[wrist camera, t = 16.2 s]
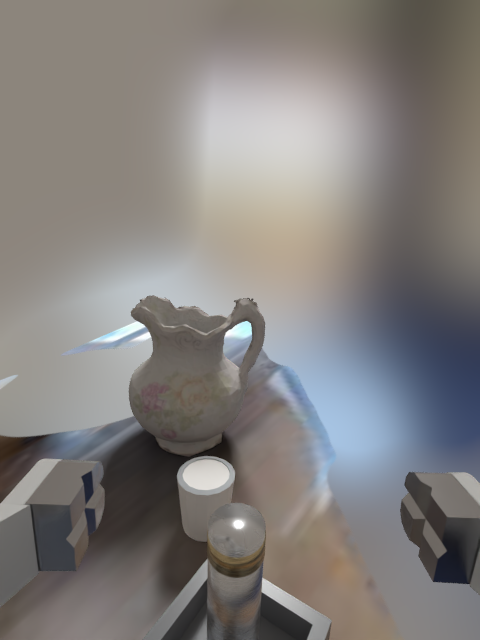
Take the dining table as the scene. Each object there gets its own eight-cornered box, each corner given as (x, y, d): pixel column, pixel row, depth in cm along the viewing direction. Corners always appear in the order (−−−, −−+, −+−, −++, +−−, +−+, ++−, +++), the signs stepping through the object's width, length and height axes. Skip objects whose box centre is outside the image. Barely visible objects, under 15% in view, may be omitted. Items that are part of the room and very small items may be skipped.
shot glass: (190, 556, 38) (190, 502, 36) (169, 512, 44) (168, 465, 42) (243, 531, 41) (246, 481, 40) (217, 494, 47) (219, 449, 45)
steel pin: (195, 678, 27) (195, 531, 23) (224, 629, 30) (228, 494, 27) (239, 717, 25) (247, 562, 21) (266, 660, 28) (276, 518, 25)
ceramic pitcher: (242, 409, 72) (244, 290, 68) (274, 462, 53) (279, 302, 49) (133, 420, 67) (128, 291, 62) (127, 482, 48) (119, 304, 44)
